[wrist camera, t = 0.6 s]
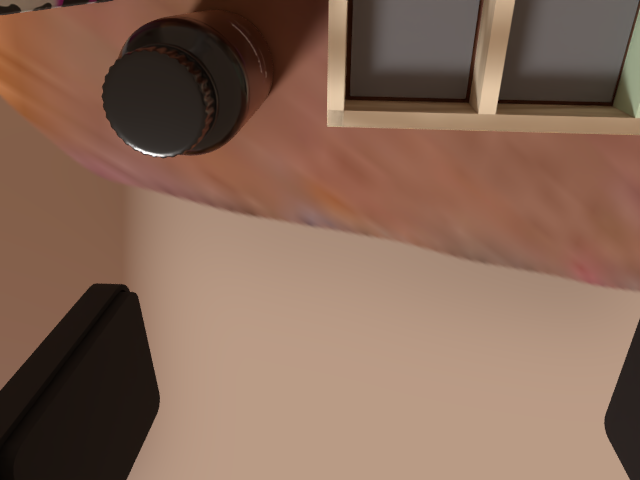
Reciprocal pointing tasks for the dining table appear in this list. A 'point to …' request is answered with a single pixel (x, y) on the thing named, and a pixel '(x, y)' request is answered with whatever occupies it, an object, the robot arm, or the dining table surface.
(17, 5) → the candy bar box
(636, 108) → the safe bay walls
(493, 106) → the lane box
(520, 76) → the pads
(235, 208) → the dining table surface
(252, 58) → the supplement bottle
